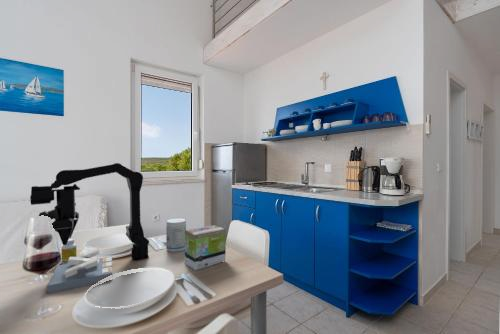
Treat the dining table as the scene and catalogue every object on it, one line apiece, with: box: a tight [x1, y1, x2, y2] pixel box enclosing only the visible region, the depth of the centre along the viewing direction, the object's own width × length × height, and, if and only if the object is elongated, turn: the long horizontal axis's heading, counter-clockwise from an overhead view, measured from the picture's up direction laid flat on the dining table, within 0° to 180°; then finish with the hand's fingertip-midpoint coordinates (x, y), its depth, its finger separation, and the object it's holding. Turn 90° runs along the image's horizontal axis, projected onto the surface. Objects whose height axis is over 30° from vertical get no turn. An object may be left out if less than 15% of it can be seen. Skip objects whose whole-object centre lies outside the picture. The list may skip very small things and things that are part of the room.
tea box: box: [184, 224, 227, 271], centre depth 107 cm, size 15×10×15 cm, turn 131°
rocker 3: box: [65, 257, 99, 278], centre depth 90 cm, size 10×4×2 cm, turn 120°
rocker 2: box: [67, 257, 99, 266], centre depth 95 cm, size 10×4×2 cm, turn 120°
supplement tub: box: [165, 217, 187, 253], centre depth 124 cm, size 10×10×15 cm
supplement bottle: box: [60, 238, 78, 265], centre depth 109 cm, size 5×5×10 cm
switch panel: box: [46, 256, 113, 294], centre depth 95 cm, size 19×19×6 cm
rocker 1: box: [76, 248, 101, 258], centre depth 100 cm, size 10×4×2 cm, turn 120°
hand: (66, 241), depth 97 cm, fingers open, 9 cm apart
